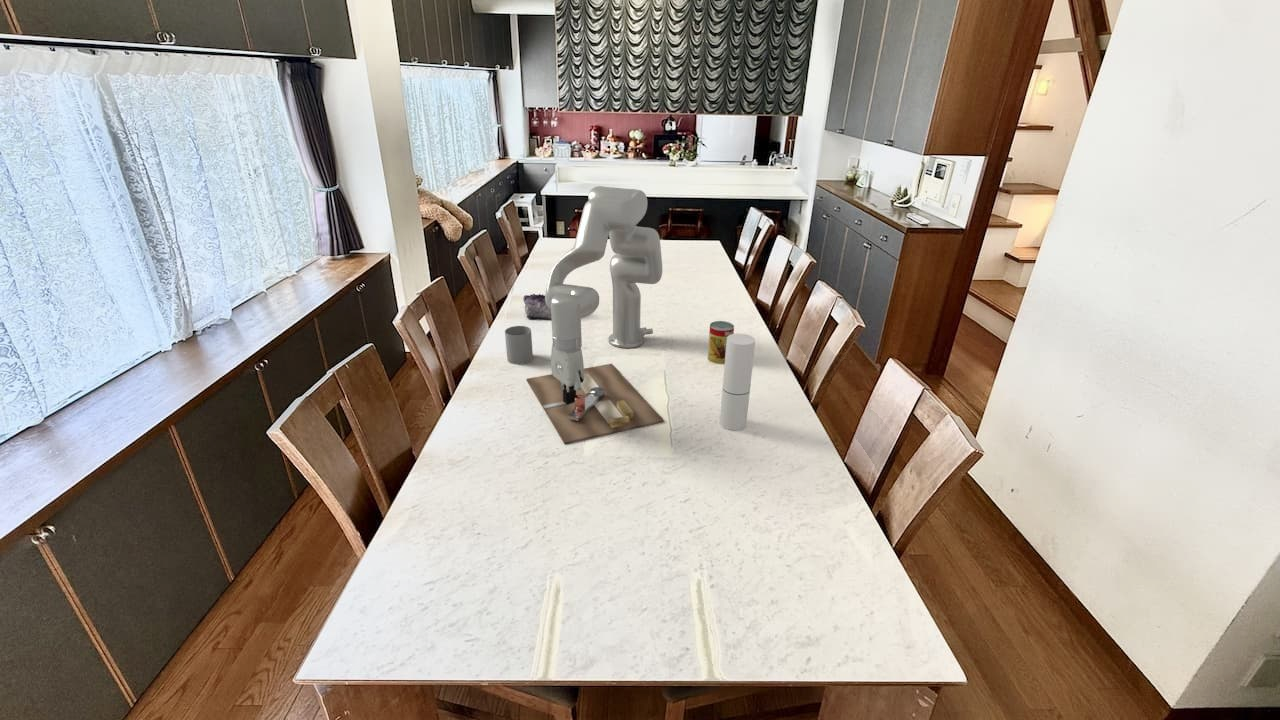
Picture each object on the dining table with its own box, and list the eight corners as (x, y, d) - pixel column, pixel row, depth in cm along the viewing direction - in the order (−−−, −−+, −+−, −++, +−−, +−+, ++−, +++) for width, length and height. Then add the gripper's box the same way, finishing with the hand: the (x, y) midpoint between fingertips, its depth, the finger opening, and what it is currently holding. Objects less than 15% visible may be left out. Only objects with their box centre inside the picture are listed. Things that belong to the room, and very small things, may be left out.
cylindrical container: (748, 419, 164) (757, 335, 154) (743, 432, 158) (752, 346, 148) (722, 414, 166) (729, 331, 156) (717, 427, 160) (724, 342, 150)
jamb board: (611, 365, 194) (611, 357, 193) (663, 421, 163) (663, 413, 161) (526, 380, 183) (526, 372, 182) (564, 444, 152) (564, 435, 151)
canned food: (730, 365, 195) (733, 331, 190) (706, 362, 197) (708, 328, 192) (731, 355, 202) (734, 322, 197) (708, 352, 204) (711, 320, 199)
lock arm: (594, 391, 176) (593, 375, 173) (606, 394, 174) (606, 378, 172) (566, 419, 161) (565, 402, 159) (579, 422, 160) (579, 405, 158)
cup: (527, 365, 193) (525, 336, 188) (503, 362, 194) (500, 334, 190) (536, 354, 200) (534, 327, 196) (513, 352, 202) (511, 324, 197)
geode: (576, 310, 239) (576, 287, 233) (573, 324, 229) (573, 301, 224) (525, 307, 238) (524, 285, 233) (520, 322, 229) (519, 298, 223)
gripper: (540, 335, 160) (544, 395, 168) (570, 354, 149) (572, 417, 158) (564, 328, 164) (567, 387, 172) (595, 347, 154) (596, 409, 162)
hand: (569, 401), depth 165 cm, fingers closed
